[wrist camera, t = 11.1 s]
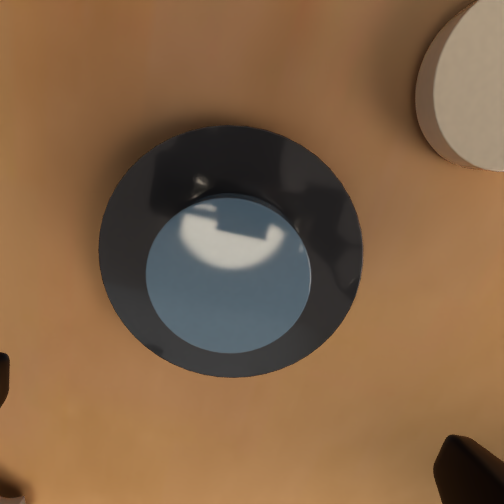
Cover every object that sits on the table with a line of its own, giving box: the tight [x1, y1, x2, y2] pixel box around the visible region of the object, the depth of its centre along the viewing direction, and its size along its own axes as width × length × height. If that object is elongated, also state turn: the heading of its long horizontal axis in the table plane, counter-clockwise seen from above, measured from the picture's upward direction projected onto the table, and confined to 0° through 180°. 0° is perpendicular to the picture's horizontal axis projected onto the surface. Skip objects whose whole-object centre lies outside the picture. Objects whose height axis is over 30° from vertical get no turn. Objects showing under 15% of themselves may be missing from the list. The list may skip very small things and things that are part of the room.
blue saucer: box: [146, 193, 311, 353], centre depth 16 cm, size 7×7×2 cm
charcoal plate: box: [98, 125, 363, 378], centre depth 18 cm, size 13×13×1 cm
